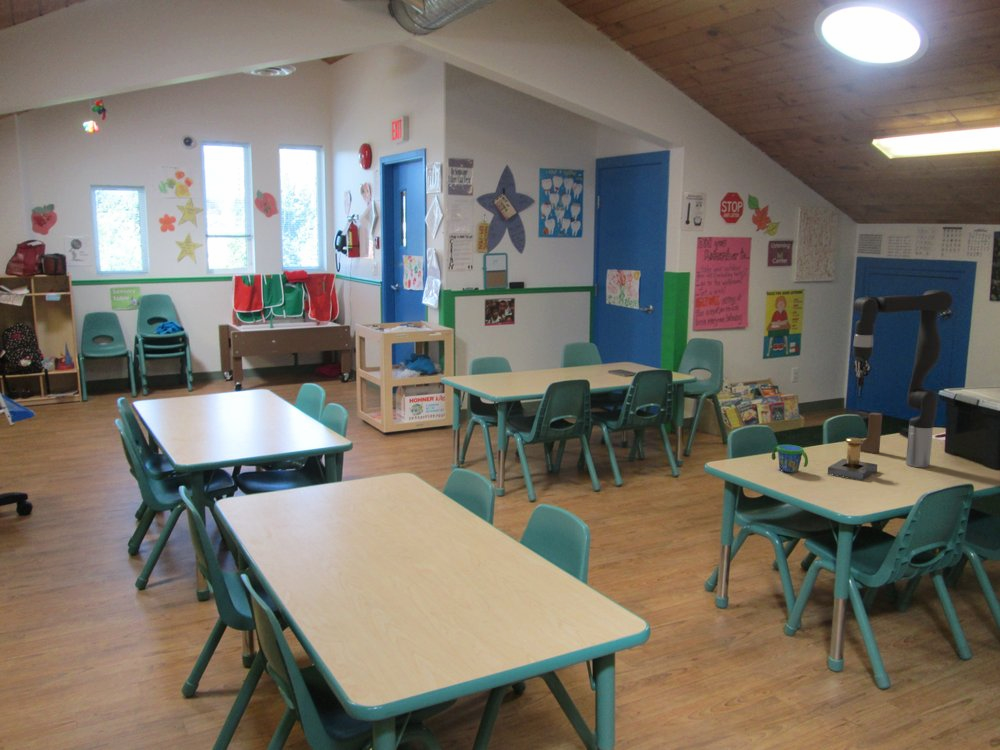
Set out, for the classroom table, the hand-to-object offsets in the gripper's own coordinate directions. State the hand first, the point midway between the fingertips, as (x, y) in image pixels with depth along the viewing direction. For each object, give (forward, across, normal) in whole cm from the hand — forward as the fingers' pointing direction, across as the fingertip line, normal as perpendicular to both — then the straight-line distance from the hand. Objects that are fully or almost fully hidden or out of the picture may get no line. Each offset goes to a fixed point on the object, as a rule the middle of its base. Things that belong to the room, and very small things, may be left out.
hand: (860, 385), depth 357 cm
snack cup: (+35, -6, +31) cm, 47 cm away
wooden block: (+35, +24, -18) cm, 46 cm away
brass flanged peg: (+35, -10, +6) cm, 37 cm away
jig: (+35, -10, +6) cm, 37 cm away
